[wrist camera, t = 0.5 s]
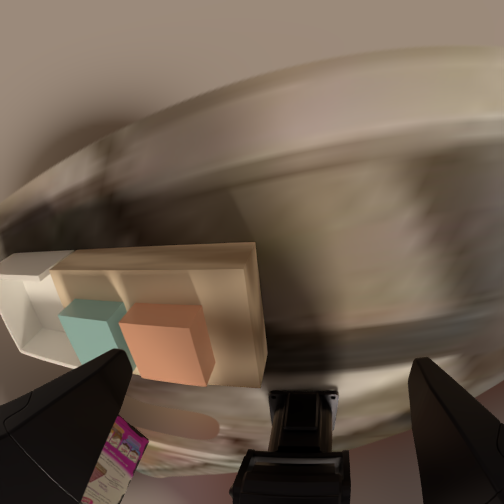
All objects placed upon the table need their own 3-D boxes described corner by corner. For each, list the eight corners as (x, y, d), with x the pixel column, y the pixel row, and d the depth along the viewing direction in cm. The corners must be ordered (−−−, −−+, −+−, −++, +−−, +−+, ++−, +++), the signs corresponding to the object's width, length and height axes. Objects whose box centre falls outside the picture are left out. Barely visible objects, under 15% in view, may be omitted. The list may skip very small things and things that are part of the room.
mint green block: (143, 355, 22) (130, 375, 20) (96, 347, 23) (82, 365, 21) (123, 301, 20) (106, 321, 18) (74, 298, 21) (57, 315, 19)
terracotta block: (215, 362, 21) (206, 386, 19) (154, 356, 22) (141, 377, 20) (201, 305, 19) (189, 328, 17) (135, 302, 20) (118, 322, 18)
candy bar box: (79, 394, 36) (23, 477, 21) (96, 391, 34) (35, 484, 19) (131, 442, 39) (90, 523, 24) (151, 441, 37) (109, 531, 22)
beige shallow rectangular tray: (267, 353, 25) (260, 388, 22) (110, 339, 28) (90, 365, 25) (255, 241, 21) (243, 269, 18) (77, 249, 24) (48, 270, 21)
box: (107, 339, 29) (82, 371, 24) (44, 328, 31) (20, 352, 26) (74, 249, 25) (38, 275, 20) (13, 253, 27) (-17, 273, 22)
